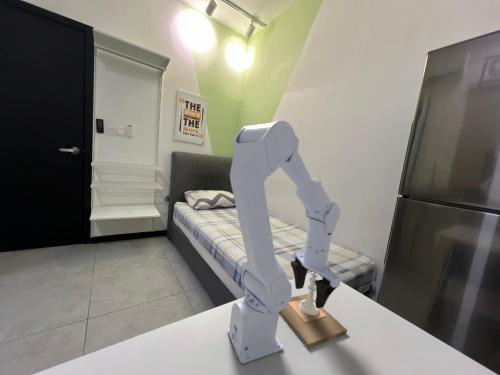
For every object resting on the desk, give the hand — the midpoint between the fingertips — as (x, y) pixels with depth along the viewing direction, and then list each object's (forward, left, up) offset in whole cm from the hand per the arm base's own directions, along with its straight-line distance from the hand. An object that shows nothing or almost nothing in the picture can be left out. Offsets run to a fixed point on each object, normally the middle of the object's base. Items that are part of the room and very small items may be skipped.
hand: (308, 296), depth 52 cm
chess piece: (+1, 0, -4) cm, 4 cm away
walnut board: (-1, -2, -5) cm, 5 cm away
